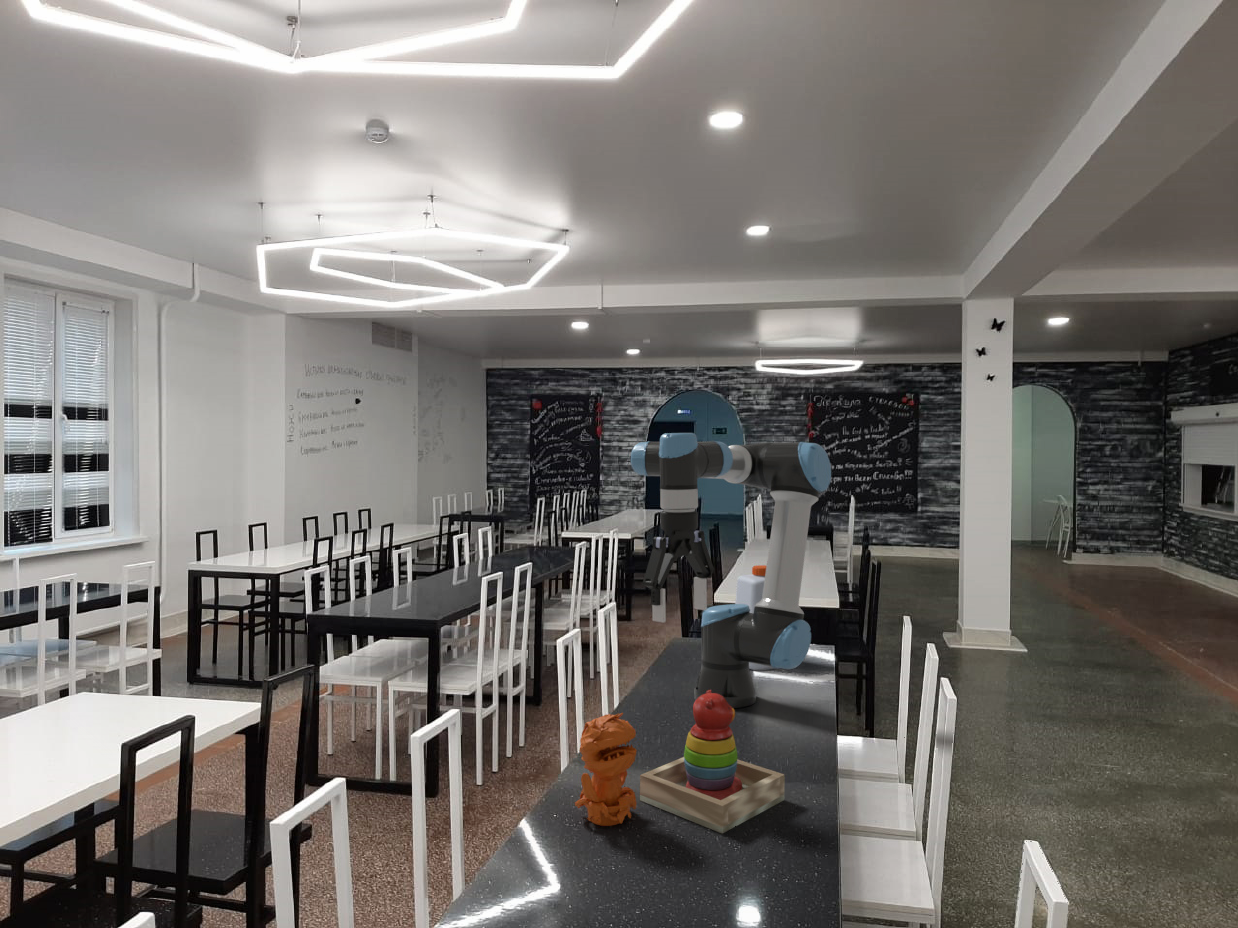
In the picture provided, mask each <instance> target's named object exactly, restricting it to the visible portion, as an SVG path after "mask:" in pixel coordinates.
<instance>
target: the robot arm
mask: <svg viewBox="0 0 1238 928" xmlns="http://www.w3.org/2000/svg"><path fill="white" fill-rule="evenodd" d="M828 455H829V454H827V452H826V450H825V449H824V447H822V445H820V444H818V443H815V442H805V441H800V442H799V441H798V442H761V443H760V442H759V443H751V444H732V445H727V444H726V443H725V442H722V441H716V440H708V441H698V438H697V435H696V434H695V433H694V432H671V433H670V432H669V433H668V432H667V433H666V432H665V433H663V434H662V435H660V438H659V441H649V440H648V441H641V442H638V443H637V444H635V445H634V446H633V447H632V450H631V453H630V465H631V468H632V471H633V472H635V473H636V474H637V475H639V476H646V477H660V478H659V479H660V481H659V482H660V484H659V491H660V492H659V493H660V496H659V497H660V505H659V506H660V508H661V509H663V510H661V512H660V513H659V514H660V515H659V516H660V517H659V518H660V520H659V521H660V526H659V527H660V530H661V529H662V530H663V532H664V535H663V536H662V537H660V536H654V537H653V538H652V550H651V553H650V556H649V560H648V563H647V565H646V567H647V568H646V570H645V573H644V577H643V580H642V585H643V587H646V588H649V589H650V602H651V603H650V604H651V606H652V612H651V613H652V622H658V623H662V624H664V623H666V620H667V619H666V618H667V617H666V615H667V614H666V612H667V611H666V588H663V587H664V584H665V582H666V580H667V578H668V576H669V574H670V571H671V569H672V567H673V565H674V562H675V561H677V560H678V558H682V557H685V559H686V560H687V562H688V563H689V565H690V567H691V569H692V570H693V572H694V573H695V576H694V577H693V608H694V609H695V610H699V611H703V612H702V614H701V625H700V628H701V668H700V671H699V674H698V675H697V676H698V677H697V679H696V683H695V686H694V691H693V692H694V697H693V698H694V700H695V701H696V699H697V698H698V697H700V696H701V695H703V694H706V692H707V691H708V690H711V693H716V694H719V695H721V696H723V697H724V698H725V699H726V701H727V702H728V704H729V705H730V706H731V707H732V708H733V709H739V708H745V707H748V706H752V705H753V704H755V703H756V702H757V691H756V688H755V685H754V681H753V678H752V675H751V674H752V673H751V671H750V669H749V662H751V663H756V664H761V665H766V666H771V667H773V668H779V669H784V670H793V669H795V668H797V667H799V666H800V665H801V664H802V662H803V661H804V660H805V658H806V656H807V655H808V652H809V649H810V646H811V642H812V632H811V630H812V629H811V626H810V624H809V623H808V621H806V620H804V617H805V613H804V611H803V609H801V607H800V605H799V604H800V594H801V587H802V579H803V572H804V566H805V565H804V563H805V558H806V557H805V556H806V549H807V548H806V547H807V540H808V534H809V533H808V532H809V524H810V517H811V510H812V506H813V505H815V503H816V502H818V501H819V497H820V493H823V492H825V491H826V490H828V488H829V486H830V484H831V480H832V467H831V462H830V458H829V456H828ZM698 479H717V480H718V479H719V480H724V481H726V482H727V483H730V484H737V485H744V486H748V487H753V488H759V489H766V490H768V489H769V491H770V492H769V494H770V496H771V497H772V499H773V500H774V508H773V516H772V522H771V523H772V524H771V531H770V537H769V546H768V551H767V553H768V554H767V560H766V565H765V566H766V574H765V581H764V589H763V596H762V600H761V601H760V602H758V603H757V604H756V605H755V607H754V613H750V609H749V606H748V605H745V604H735V603H734V604H733V603H732V604H731V603H730V604H722V605H721V604H720V605H713V606H710V607H708V606H707V605H708V601H707V600H708V595H707V593H708V579H711V578H712V577H713V574H714V572H715V567H714V565H713V562H712V558H711V556H710V552H709V550H708V547H707V544H706V540H705V539H706V537H705V532H704V531H703V530H697V529H698V528H699V512H698V511H697V510H696V509H698V508H699V495H698V493H699V491H698Z"/></svg>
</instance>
